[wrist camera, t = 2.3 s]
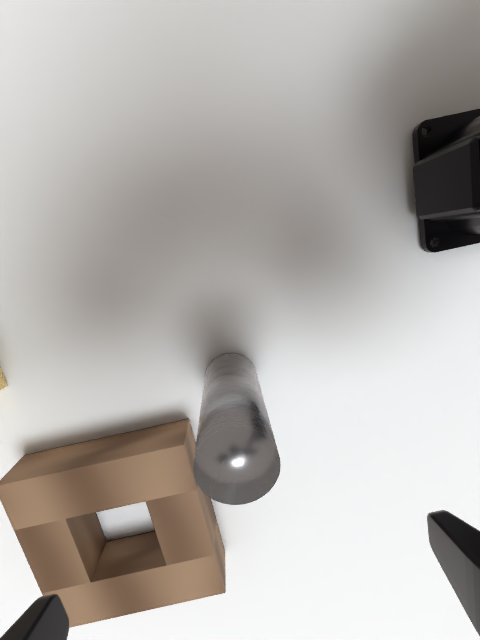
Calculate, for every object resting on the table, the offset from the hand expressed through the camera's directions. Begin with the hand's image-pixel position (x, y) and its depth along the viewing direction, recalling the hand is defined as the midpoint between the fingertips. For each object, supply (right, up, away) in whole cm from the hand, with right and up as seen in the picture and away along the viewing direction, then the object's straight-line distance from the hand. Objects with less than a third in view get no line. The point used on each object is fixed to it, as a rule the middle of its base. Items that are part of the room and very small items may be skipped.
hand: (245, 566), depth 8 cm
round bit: (-1, +2, +11) cm, 12 cm away
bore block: (-7, -6, +13) cm, 16 cm away
